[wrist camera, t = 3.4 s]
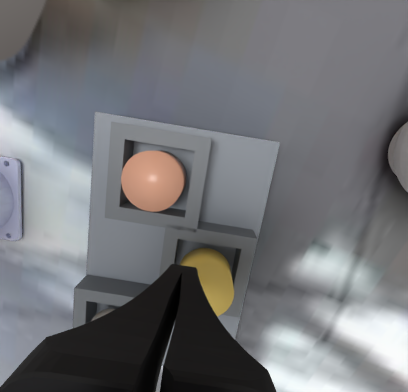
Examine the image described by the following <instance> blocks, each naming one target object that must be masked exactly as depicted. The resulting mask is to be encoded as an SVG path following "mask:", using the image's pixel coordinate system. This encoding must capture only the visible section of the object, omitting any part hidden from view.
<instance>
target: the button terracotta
mask: <svg viewBox="0 0 408 392" xmlns="http://www.w3.org/2000/svg"><path fill="white" fill-rule="evenodd" d="M121 184H122V188H123V191H124V193H125V195H126V197H127V198H128V200H129V201H130V202H131V203H132V204H133V205H135V206H136V207H138V208H140V209H142V210H145V211H151V212H157V211H162V210H165V209H167V208H169V207H170V206H171V205H173V204H174V203H175V202H176V200H177V199H178V198H179V196H180V194H181V193H182V191H183V190H184V188H185V185H186V171H185V168H184V166H183V164H182V162H181V161H180V160H179V159H178V158H177V157H176V156H175V155H173V154H171V153H169V152H166V151H143V152H140V153H138V154H135V155H134V156H132V157H131V158H130V159H129V160H128V161H127V163H126V164H125V166H124V168H123V171H122V176H121Z"/></svg>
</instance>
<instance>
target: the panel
mask: <svg viewBox="0 0 408 392" xmlns="http://www.w3.org/2000/svg"><path fill="white" fill-rule="evenodd" d="M279 145H280V142H275V141H269V140H263V139H256V138H250V137H244V136H238V135H232V134H226V133H220V132H214V131H208V130H202V129H196V128H190V127H184V126H178V125H172V124H166V123H160V122H154V121H148V120H142V119H136V118H130V117H124V116H118V115H112V114H106V113H100V112H95V122H94V141H93V160H92V179H91V197H90V216H89V235H88V254H87V273H86V277H85V278H84V279H83V280H82V281H81V282H80V283H79V284H78V285H77V286H76V287H75V288H74V309H73V328H76V327H78V326H81V325H84V324H86V323H88V322H91V320H92V319H93V317H94V316H95V315H96V314H97V313H98V312H100V311H102V310H105V309H117V308H119V307H121V306H123V305H124V304H126V303H127V302H129V301H130V300H132V299H133V298H135V297H136V296H137V295H139V294H140V293H141V292H143V291H144V290H145V289H146V288H148V287H149V286H150V285H151V284H152V283H153V282H154V281H155V280H157V279H158V278H159V277H160V276H161V275H162V274H163V273H164V272H165V271H166V270H167V268H168V267H169V266H170V265H171V264H177V265H180V262H181V260H182V259H183V257H184V256H185V255H186V254H188V253H189V252H191V251H192V250H195V249H198V248H210V249H213V250H216V251H218V252H220V253H221V254H222V255H223V256H224V257H225V258H226V259H227V261H228V263H229V265H230V270H231V276H232V281H233V287H234V298H233V301H232V304H231V305H230V307H229V308H228V309H227V311H225V312H224V313H223V314H221V315H220V316H218V319H219V320H220V321H221V323H222V324H223V326H224V327H225V328H226V330H227V331H228V332H229V333H230V334H231V336H232V337H233V338H234V339H235V338H236V333H237V329H238V325H239V320H240V316H241V311H242V307H243V303H244V298H245V294H246V290H247V285H248V281H249V276H250V272H251V268H252V263H253V259H254V255H255V250H256V246H257V241H258V237H259V233H260V228H261V224H262V220H263V215H264V211H265V206H266V202H267V198H268V193H269V189H270V185H271V180H272V176H273V171H274V167H275V163H276V158H277V154H278V150H279ZM143 151H166V152H169V153H171V154H173V155H175V156H176V157H177V158H178V159H179V160H180V161H181V162H182V164H183V166H184V168H185V171H186V185H185V188H184V190H183V191H182V193H181V194H180V196H179V198H178V199H177V200H176V202H175V203H174V204H173V205H171V206H170V207H169V208H167V209H165V210H162V211H157V212H151V211H145V210H142V209H140V208H138V207H136V206H135V205H133V204H132V203H131V202H130V201H129V200H128V198H127V197H126V195H125V193H124V191H123V188H122V184H121V176H122V171H123V168H124V166H125V164H126V163H127V161H128V160H129V159H130V158H131V157H132V156H134V155H135V154H138V153H140V152H143ZM174 325H175V323H174ZM173 329H174V326H173ZM173 329H172V333H173ZM172 333H171V336H172ZM171 336H170V339H169V343H168V346H167V349H166V352H165V356H164V359H163V362H162V365H164V362H165V358H166V355H167V351H168V348H169V344H170V340H171Z"/></svg>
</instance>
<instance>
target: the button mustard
mask: <svg viewBox="0 0 408 392" xmlns="http://www.w3.org/2000/svg"><path fill="white" fill-rule="evenodd" d="M180 265H183V266H190V267H196V268H197V270H198V276H199V279H200V283H201V285H202V288H203V290H204V293H205V295H206V297H207V299H208V301H209V303H210V305H211V307H212V309H213V310H214V312H215V314H216V315H217V317H218V316H220V315H221V314H223V313H224V312H225V311H227V309H228V308H229V307H230V305H231V304H232V301H233V298H234V287H233V281H232V276H231V270H230V265H229V263H228V261H227V259H226V258H225V257H224V256H223V255H222V254H221V253H220V252H218V251H216V250H213V249H210V248H198V249H195V250H192V251H191V252H189V253H188V254H186V255H185V256H184V257H183V259H182V260H181V262H180Z"/></svg>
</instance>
